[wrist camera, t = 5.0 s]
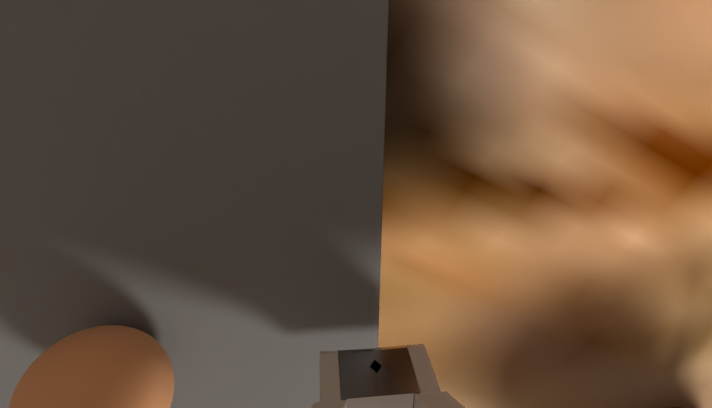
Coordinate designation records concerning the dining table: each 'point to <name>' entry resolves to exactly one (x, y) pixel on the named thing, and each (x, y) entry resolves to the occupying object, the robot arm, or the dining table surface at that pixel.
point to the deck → (194, 185)
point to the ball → (99, 372)
